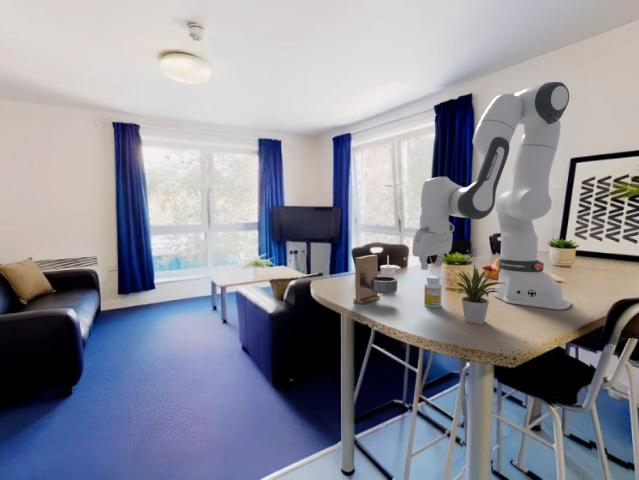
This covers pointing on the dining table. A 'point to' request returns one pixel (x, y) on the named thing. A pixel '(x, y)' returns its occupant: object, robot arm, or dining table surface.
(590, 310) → the dining table surface
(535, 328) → the dining table surface
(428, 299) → the supplement bottle
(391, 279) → the cup bracket
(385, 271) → the smoothie
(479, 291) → the house plant
